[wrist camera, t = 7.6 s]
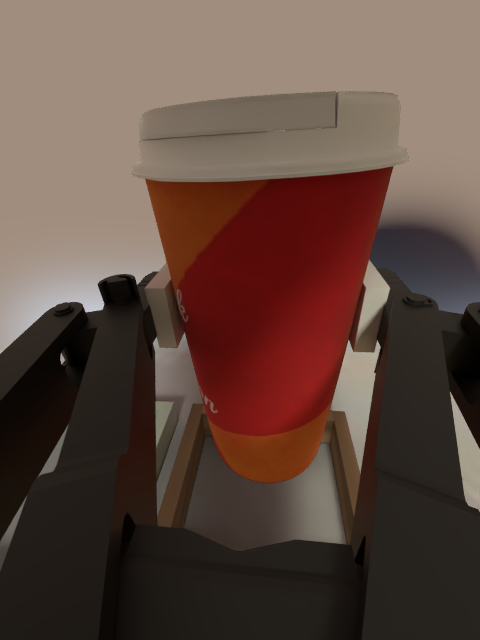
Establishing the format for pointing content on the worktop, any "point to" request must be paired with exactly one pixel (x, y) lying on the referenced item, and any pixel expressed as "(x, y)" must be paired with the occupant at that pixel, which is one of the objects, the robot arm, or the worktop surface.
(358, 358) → the worktop surface
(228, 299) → the coffee cup
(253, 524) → the worktop surface
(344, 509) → the walnut tray
